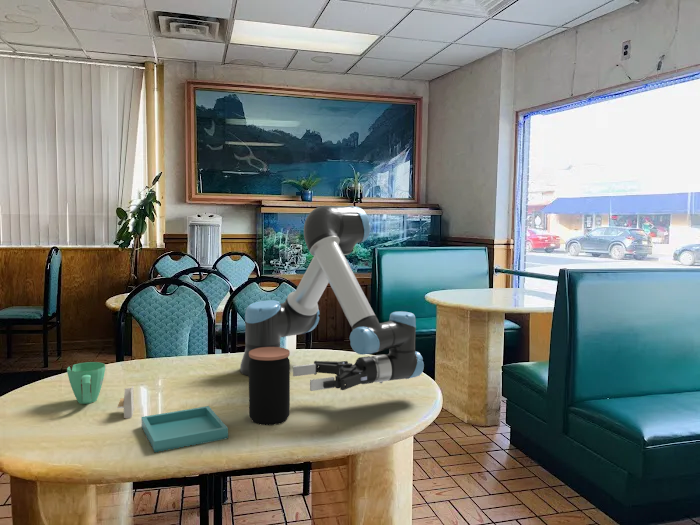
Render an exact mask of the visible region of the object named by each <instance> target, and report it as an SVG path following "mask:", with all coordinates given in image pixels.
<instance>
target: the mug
mask: <svg viewBox="0 0 700 525" xmlns="http://www.w3.org/2000/svg"><path fill="white" fill-rule="evenodd" d="M66 372H67V377H68V381H69V384H70V387H71V389H72V392H73V395H74V397H75V399H76V401H77V403H78V404H80V405H88V404H93V403H96V402H97V400H98V398H99V395H100V393H101V391H102V390H101V389H102V386H103V383H104V378H105V373H106V364H105V363H103V362H98V361H87V362H79V363H76V364H72V366H71V367H70V366H68V367H67V368H66ZM92 402H93V403H92Z"/></svg>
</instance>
